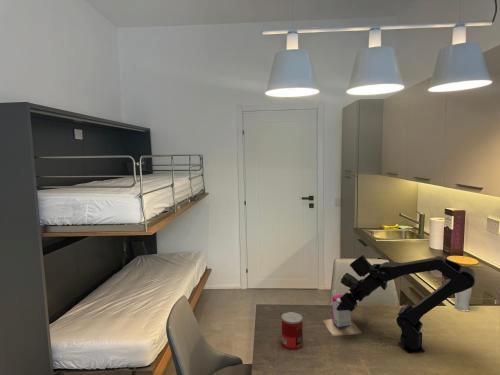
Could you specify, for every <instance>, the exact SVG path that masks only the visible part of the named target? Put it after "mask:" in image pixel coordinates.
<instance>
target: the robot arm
mask: <svg viewBox="0 0 500 375" xmlns="http://www.w3.org/2000/svg"><path fill="white" fill-rule="evenodd" d="M349 267H350V268H351V269H352V270H353V272H355V273H356V275H357V276H358V277H360V278H361V277H362V278H363V279H362V278H361V279H358V278H356V277H355V276H353V275H352V274H351V273H348V272H346V273H344V274H343V276H342V277H341V278H340V283H341V284H342V285H344V286H345V287H347V288H349V289H348V291H350V292H345V293H344V294H342V295H343V296H342V297H341V298H340V300H341V301H342V302H341V303H340V304H339V306H338V307H337V308H336V309H337V311H342V310H349V311H351V312H353V311H354V310H356V308H357V307H358V302H360V303H361V302H362V301H363V300H364V299H365V298H366V297H369V296H370V295H371V294H372V293H373V292H374V291H376V290H377V289H378V288H380V287H381V289H383V291H386V289H387V288H388V282H390V281H393V280H396V279H397V278H400V277H402V276H407V275H414V274H419V273H425V272H426V273H427V272H432V271H438V272H439V273H441V274H442V275H444V276H445V277H446V278H448V279H447V280H446V281H445V283H443V284H442V285H441V286H439V287H438V288H437V289H435V290H433V291H432V292H431V293H429V294H428V295H427V296H425V297H424V298H423V299H421V300H420V301H418V302H417V303H416V304H411V303H410V302H408V303H406V305H404V306H402V307H401V308H400V309H399V312H398V313H397V317H396V325H397V326H398V327H399V328H400V331H401V334H400V336H399V337H400V341H398V344H399V345H400V346H401V348H403V350H405V351H406V353H408V354H412V353H413V354H415V353H422V352H425V349H424V348H423V332H421V331H422V327H423V322H421V321H420V320H421V319H422V318H423V316H424V315H426V314H427V313H428V312H430V311H431V310H433V309H435V308H436V307H437V306H439V305H440V304H441V303H443V302H444V301H445V300H448V299H449V298H450V297H451V296H453V295H455V293H459V292H463V291H465V290H467V289H469V288H471V287H472V288H473V287H474V286H475V281H476V272H475V271H474V270H473V269H472V268H471V267H468V266H465V265H461V264H459V263H458V262H454V261H452V260H450V259H447V258H445V257H443V256H441V255H437V256H434V257H429V258H424V259H422V258H421V259H418V260H412V261H405V262H397V261H396V262H395V261H385V262H383V263H373V264H371V263H370V261H368V259H367V258H366V256H365V255H364V254H362V255H361V256H359V257H357V258H356V259H354V261H352V262H350V263H349ZM357 301H358V302H357Z"/></svg>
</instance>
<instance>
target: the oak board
mask: <svg viewBox="0 0 500 375" xmlns="http://www.w3.org/2000/svg"><path fill="white" fill-rule="evenodd" d="M321 322H322V323H323V324H324V326H325V328H326V329H327V330H328V332H329V333H330V335H331V336H332V337H340V336H347V335H348V336H349V335H362V331H361V329H359V328H358V327H357V325H356V324H355V323H354V322H353V320H351V326H349V327H343V328H338V327H337V326H336V325H335V324H334V323H333V322H332V318H329V319H328V318H327V319H322V321H321Z"/></svg>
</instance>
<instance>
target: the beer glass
mask: <svg viewBox="0 0 500 375" xmlns="http://www.w3.org/2000/svg"><path fill="white" fill-rule="evenodd" d="M472 291H473V287H471V288H469V289H467V290H465V291H463V292H459V293H455V294H454V296H455V300H454V301H455V302H454V306H453V308H454V309H455V308H456V309H458V310H457V311H459V310H465V311H466V310H471V309H470V299H471V295H472ZM456 309H455V310H456Z"/></svg>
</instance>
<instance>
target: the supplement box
mask: <svg viewBox="0 0 500 375" xmlns="http://www.w3.org/2000/svg"><path fill="white" fill-rule="evenodd" d="M343 295H344V294H337V295H332V296H331V298H332V302H331V303H332V307H331V309H332V313H331V314H332V316H331V317H332V318H331V319H332V322H333V323H334V324H335V325H336V326H337V327H338V328H343V327H349V326H351V321H352V311H349V310H342V311H337V309H336V308H337V307H338V306H339V304H340V303H341V302H342V301H341V300H340V298H341V297H342V296H343Z"/></svg>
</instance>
